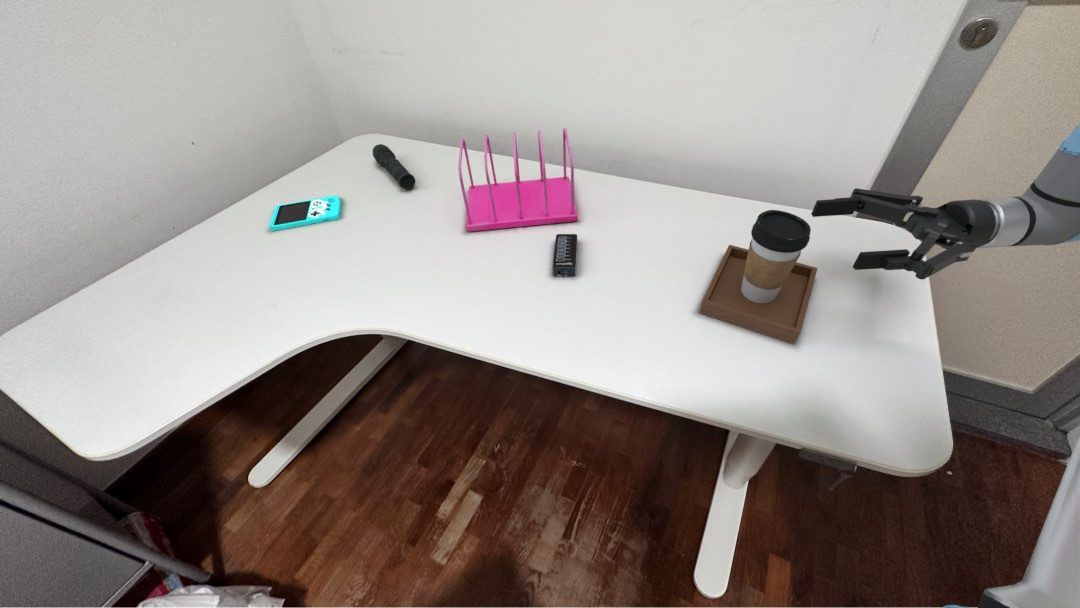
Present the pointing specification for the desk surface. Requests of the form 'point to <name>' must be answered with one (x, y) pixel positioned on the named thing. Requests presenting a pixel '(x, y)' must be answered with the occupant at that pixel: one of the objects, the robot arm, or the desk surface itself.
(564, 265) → the multiport hub
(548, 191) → the file sorter
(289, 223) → the handheld game console
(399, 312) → the desk surface
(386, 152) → the flashlight
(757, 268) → the coffee cup
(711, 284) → the tray
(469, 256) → the desk surface
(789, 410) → the desk surface
